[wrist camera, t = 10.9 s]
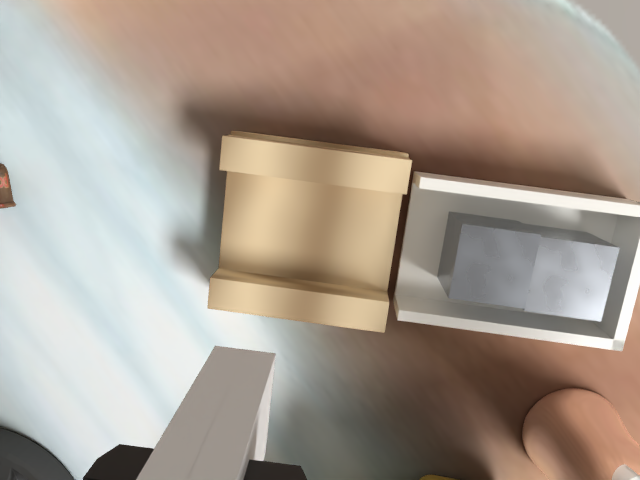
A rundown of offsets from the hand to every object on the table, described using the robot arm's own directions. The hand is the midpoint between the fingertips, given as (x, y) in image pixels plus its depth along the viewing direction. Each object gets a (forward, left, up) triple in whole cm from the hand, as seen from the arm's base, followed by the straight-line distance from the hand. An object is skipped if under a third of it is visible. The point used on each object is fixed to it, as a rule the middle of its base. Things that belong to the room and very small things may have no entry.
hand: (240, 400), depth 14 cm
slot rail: (0, +1, -20) cm, 20 cm away
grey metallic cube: (+10, +1, -20) cm, 22 cm away
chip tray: (+12, +1, -20) cm, 24 cm away
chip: (+14, +1, -20) cm, 24 cm away
